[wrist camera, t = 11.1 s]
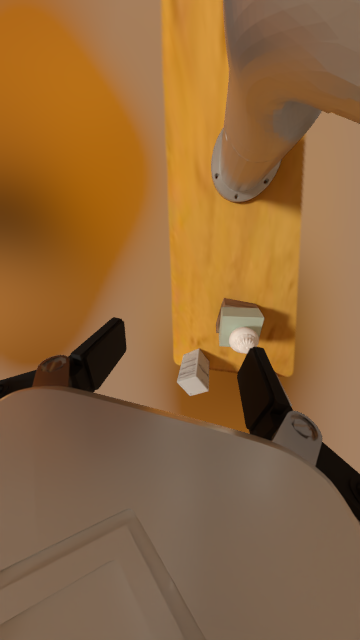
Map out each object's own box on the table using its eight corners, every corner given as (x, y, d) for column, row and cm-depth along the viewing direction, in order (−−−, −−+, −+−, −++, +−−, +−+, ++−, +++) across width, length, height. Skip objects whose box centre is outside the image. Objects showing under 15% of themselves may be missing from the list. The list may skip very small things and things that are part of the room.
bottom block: (223, 297, 43) (225, 304, 39) (255, 303, 42) (260, 311, 38) (215, 323, 48) (216, 332, 43) (244, 329, 47) (247, 339, 42)
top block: (221, 307, 39) (222, 316, 35) (258, 308, 37) (264, 317, 33) (218, 335, 44) (219, 346, 39) (251, 337, 42) (256, 348, 38)
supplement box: (209, 361, 56) (209, 391, 45) (193, 367, 59) (189, 396, 48) (199, 347, 53) (196, 376, 43) (182, 354, 56) (176, 382, 46)
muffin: (229, 320, 35) (235, 333, 29) (256, 322, 34) (268, 337, 28) (224, 342, 37) (229, 359, 31) (249, 345, 37) (259, 363, 30)
